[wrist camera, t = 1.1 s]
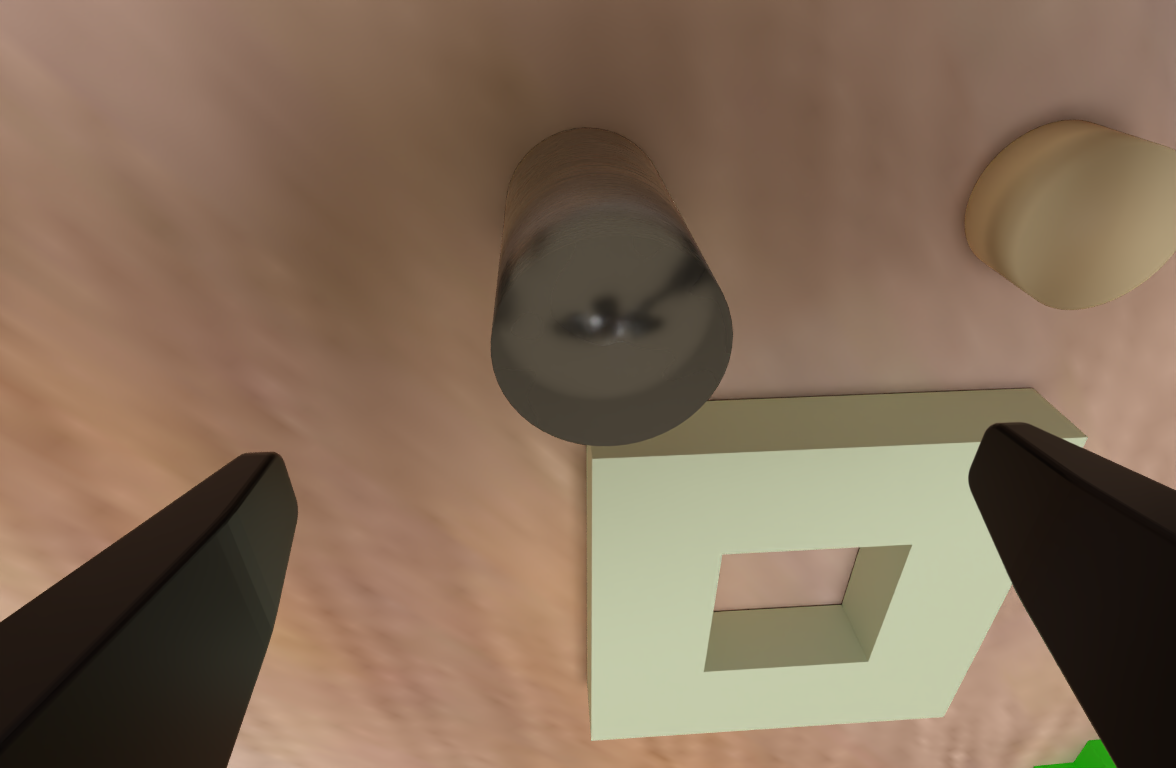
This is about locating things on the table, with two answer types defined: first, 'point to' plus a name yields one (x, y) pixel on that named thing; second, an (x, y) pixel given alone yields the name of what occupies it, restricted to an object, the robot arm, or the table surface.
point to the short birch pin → (1075, 213)
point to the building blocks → (1088, 758)
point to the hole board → (790, 523)
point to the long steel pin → (603, 296)
